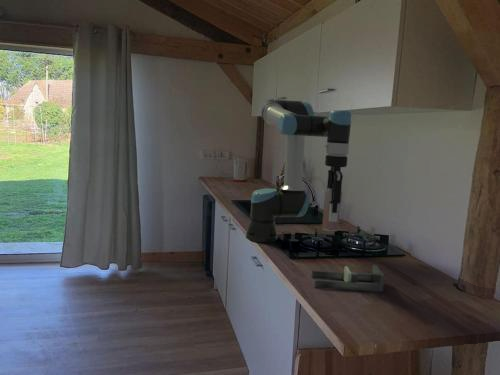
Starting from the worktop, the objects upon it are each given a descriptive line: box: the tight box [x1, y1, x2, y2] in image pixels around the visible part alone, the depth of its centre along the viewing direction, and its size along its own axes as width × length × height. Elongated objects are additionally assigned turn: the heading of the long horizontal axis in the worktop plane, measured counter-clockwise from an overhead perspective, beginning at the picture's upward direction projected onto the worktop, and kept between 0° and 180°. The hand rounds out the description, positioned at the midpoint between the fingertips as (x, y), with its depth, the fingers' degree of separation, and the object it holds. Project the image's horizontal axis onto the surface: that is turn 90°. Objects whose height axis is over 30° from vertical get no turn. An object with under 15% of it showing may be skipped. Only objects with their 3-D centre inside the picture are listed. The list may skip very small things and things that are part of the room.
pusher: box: [342, 265, 358, 282], centre depth 141 cm, size 7×3×5 cm, turn 179°
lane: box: [310, 264, 386, 293], centre depth 141 cm, size 10×23×6 cm, turn 89°
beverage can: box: [321, 187, 343, 232], centre depth 144 cm, size 6×6×15 cm
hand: (331, 219), depth 145 cm, fingers closed on beverage can, 6 cm apart
